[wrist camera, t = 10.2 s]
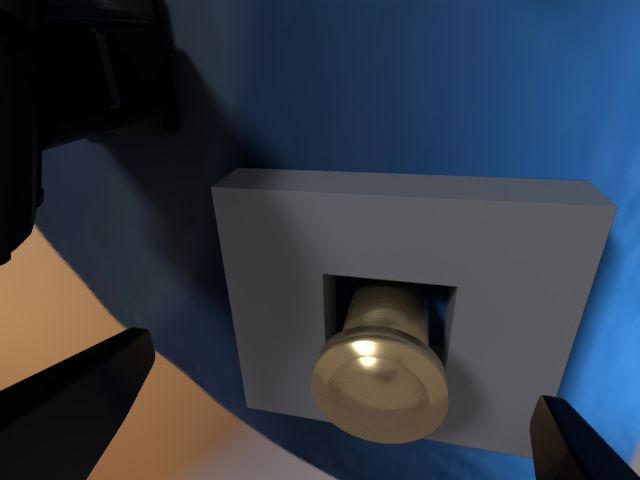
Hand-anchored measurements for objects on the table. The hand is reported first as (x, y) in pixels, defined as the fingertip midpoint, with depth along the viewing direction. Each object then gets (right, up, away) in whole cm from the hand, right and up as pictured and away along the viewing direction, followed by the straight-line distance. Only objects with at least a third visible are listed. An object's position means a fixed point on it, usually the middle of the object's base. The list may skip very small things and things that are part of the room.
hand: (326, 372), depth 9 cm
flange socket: (+4, 0, +13) cm, 13 cm away
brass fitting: (+4, 0, +13) cm, 13 cm away
